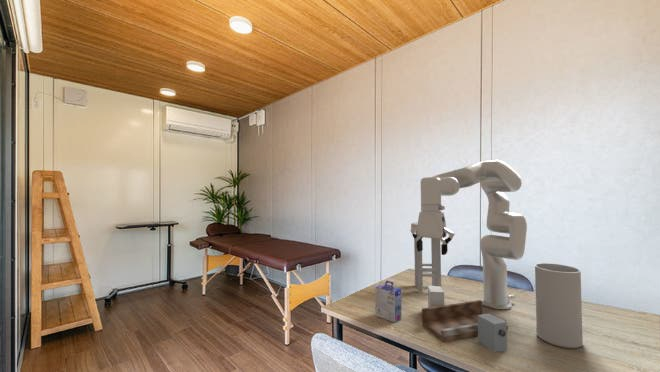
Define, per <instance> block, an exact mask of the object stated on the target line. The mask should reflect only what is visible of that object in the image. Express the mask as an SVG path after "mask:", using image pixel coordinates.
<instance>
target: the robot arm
mask: <svg viewBox="0 0 660 372" xmlns="http://www.w3.org/2000/svg"><path fill="white" fill-rule="evenodd" d="M476 184H480V187H481V189H482V190H483V192H484V194H485V195H486V197H487V199H488V206H487V214H486V215H487V216H486V228H487V229H488V230H489V231H490V232H493V233H496V234H486V235H484V236H482V237H481V238H480V242H479V247H480V251H481V256H482V272H483V273H482V277H483V278H482V280H483V281H482V283H483V297H480V299H479V300H481V301H482V306H484V307H487V308H490V309H495V310H503V311H504V310H509V309H512V307H513V305H512V304H513V303H511V302H510V300H514V299H516V296H515V295H514V294H508V269H507V267H508V266H507V264H506V262H505V260H504V259H506V260H507V259H508V260H513V261H519V260H521V259H522V258H523V257H524V254H525V248H526V241H527V239H526V238H527V230H528V227H527V226H528V223H527V220H526V217H524V215H522V214H521V213H517V212H510V206H511V205H510V204H511V203H510V201H509V198H508V197H507V196H506V193H514V192H517V191H519V190H520V188H521V187H522V184H523V183H522V178H521V176H520V175H519V174H518V172H517V171H515V169H513V168H512V167H511V166H510V165H509V164H507V163H506V162H505V161H502V160H499V159H495V160H485V161H479V162H475V163H473V164H470V165H468V166H464V167H461V168H458V169H453V170H450V171H448V172H444V173H438V174H437V175H433V176H431V177H428V176H427V177H423V178H421V179H420V211H419V213H418V218H417V222H418V226H417V227H415V228H413V229H411V228H410V232H411V235H412V238H415V240H416V241H417V250H418V251H422V252H423V249H424V248H423V247H424V246H423V244H424V243H423V238H426V239H427V238H428V239H431V238H435V239H440V243H442V244H440V247H441V255H442V256H445V255H447V253H448V248H449V247H448V244H449V243H450V242H451V241H452V240H453V238H454V236H455V233H454V232H453V231H451V230H450V229H448V228H447V224H446V218H445V213H444V212H442V211H444V210H445V208H446V207H445V205H444V206H443V204H442V196H443V197H444V196H448V197H449V196H454V195H456V194H457V193H458V192H459V191H460V189H463V188H464V189H465V188H469V187H472V186H474V185H476ZM416 230H418V235H417V234H416V232H415V231H416ZM497 233H498V234H506V235H509V236H503V235H498V234H497ZM447 235H448V237H447ZM421 239H422V240H421Z"/></svg>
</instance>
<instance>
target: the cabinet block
mask: <svg viewBox="0 0 660 372" xmlns="http://www.w3.org/2000/svg"><path fill="white" fill-rule="evenodd" d="M501 319H502V318H499V317H498V316H495V315H493V314H491V313H483V315H478V336H477V341H478V343H480V344H482V346H484V347H487V348H488V349H489V350H491V351H492V352H493V353H494V352H495V353H497V352H503V351H507V350H508V330H507V326H508V322H507V321H506V322H505V321H503V320H501Z"/></svg>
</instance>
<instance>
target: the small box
mask: <svg viewBox="0 0 660 372" xmlns="http://www.w3.org/2000/svg"><path fill="white" fill-rule="evenodd" d="M443 305H445V291H444V290H443V288H442V286H441V287H440V286H432V285H427V306H428V307H427V308H429V307H436V306H443Z"/></svg>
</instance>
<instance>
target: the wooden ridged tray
mask: <svg viewBox="0 0 660 372" xmlns="http://www.w3.org/2000/svg"><path fill="white" fill-rule="evenodd" d="M483 314H484V313H483V304H482V301H481V300H480V299H478V300H473V301H471V300H470V301H463V302H457V303H452V304H444V305H443V306H436V307H429V308H428V307H422V308H421V325H422V326H423V328H425V329H426V330H427V331H429V332H430V333H432V334H433V335H434V336H436V337H437V338H438V339H440V340H441V341H442V342H443V343H447V342H453V341H456V340H463V339H469V338H473V337H478V315H483ZM500 319H501V320H503V321H505V322H507V319H505V318H500ZM508 328H509V327H508V325H507V331H508V330H509V329H508Z"/></svg>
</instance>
